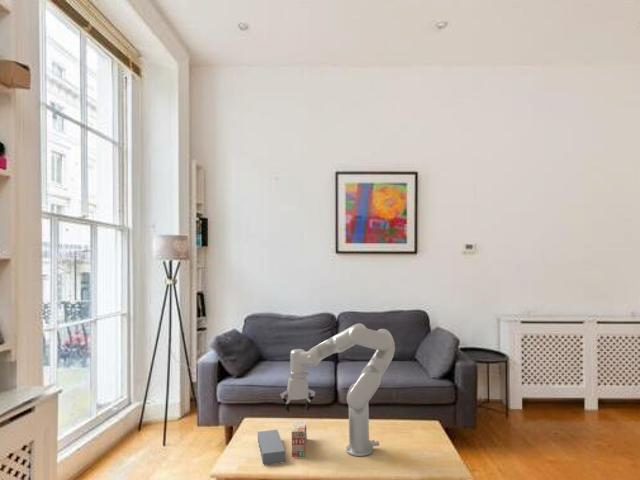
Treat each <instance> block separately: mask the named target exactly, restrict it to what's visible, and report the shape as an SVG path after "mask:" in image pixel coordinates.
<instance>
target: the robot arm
mask: <svg viewBox="0 0 640 480" xmlns="http://www.w3.org/2000/svg"><path fill="white" fill-rule="evenodd" d="M356 345H358V346H360V347H363V348H364V347H365V348H368V349H371V350H375V352H374V353H373V355H372V357H371V358H370V360H369V361H368V363H367V364H366V365H365V366H364V368H363V369H361V371H360V375H359V377H358V379H357V380H356V381H355V382H354V383H352V384H351V385H350V386H349V388H348V390H347V394H346V403H347V405H348V438H349V439H348V440H349V444H348V445H346V453H347V454H349V455H352V456H355V457H365V456H366V457H367V456H369V455H371V454H372V453H373V451H374V449H373V447H374V446H375V447H376V446H377V447H378V446H380V442H379V441H377V440H376V441H375V439H371V440H370V425H369V423H370V420H369V418H370V417H369V416H370V413H369V412H370V411H369V402H370V400H371V399H372V397H373V396H374V395H375V393H376V392H377V390H378V389H379V387H380V385H381V381H382V380H381V379H382V376H383V375H384V374H385V372H386V371H387V368H388V367H389V366H390V364H391V362H392V360H393V358H394V356H395V350H396V347H395V345H396V344H395V341H394V338H393V335H392V334H391V332H390V331H389V330H388V329H385V328H379V329H378V330H374V329H370V328H367V327H366V326H365V325H364V324H363V323H360V322H359V323H355V324H353V325H351V326H350V327H348V328H346V329H343V330H342V331H341V332H338V333H337V334H334V335H333V336H331V337H329V338H328V339H326V340H323V342H320V343H318V344H317V345H315V346H313V347H312V348H310V349H309V350H308V351H306V350H305V349H302V348H295V349H292V350H291V351H290V353H289V354H290V355H289V357H290V360H289V361H290V362H289V363H290V364H289V366H290V367H289V369H290V370H289V371H290V373H289V375H290V376H289V377H288V381H287V389H286V390H285V391H283V392H282V393H280V394H279V395H280V397H281V399H282V401H283V402H284V403H285V410H286V412H287V413H290V402H291V400H292V401H293V400H295V401H296V400H305V404H306V405H305V409H306V411H308V412H309V411H310V408H311V401H312V400H313V399H314V398H315V396H316V395H315V394H316V392H315V391H314V390H312V389H309V382H308V378H307V376H308V375H309V371H306V368H307V367H310V368H313V367H314V368H315V367H316V366H318V365H319V364H320V362H321V361H322V360H324V359H325V358H328V357H329V356H331V355H333V354H337V353H339V354H340V353H343V352H344V351H346V350H348V349H350V348H352V347H354V346H356ZM309 393H310V396H309ZM285 396H286V397H287V398H285Z"/></svg>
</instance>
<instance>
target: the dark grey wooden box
mask: <svg viewBox="0 0 640 480" xmlns="http://www.w3.org/2000/svg"><path fill="white" fill-rule="evenodd" d="M258 443H259V445H258V449H259V448H260V449H259V453H260V452H261V454H260V456H261V457H262V458H261V457H260V458H261V462H262V465H263V464H264V465H263V466H266V465H265V464H268V465H274V464H275V463H276V464H282V463H281V462H284V463H286V450H285V446H284V444H283V442H282V439H281V436H280V432H279V431H278V429H270V430H269V429H268V430H261V431H257V444H258Z"/></svg>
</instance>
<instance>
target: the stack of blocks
mask: <svg viewBox="0 0 640 480" xmlns="http://www.w3.org/2000/svg"><path fill="white" fill-rule="evenodd" d="M307 434H308V433H307V421H306V420H294V421H293V422H292V428H291V458H292V457H305V458H306V455H305V454H307V439H308V437H307V436H308V435H307Z"/></svg>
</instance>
